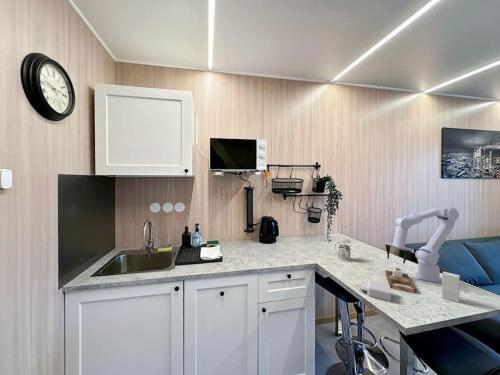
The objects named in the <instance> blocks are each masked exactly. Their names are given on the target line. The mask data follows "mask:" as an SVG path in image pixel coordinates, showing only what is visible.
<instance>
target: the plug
mask: <svg viewBox="0 0 500 375" xmlns="http://www.w3.org/2000/svg"><path fill="white" fill-rule="evenodd" d="M392 271H393V275H391V276H395V277H401V278H403V277H402V273H404V271H402V268H400V267H392Z"/></svg>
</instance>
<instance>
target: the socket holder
mask: <svg viewBox="0 0 500 375" xmlns="http://www.w3.org/2000/svg"><path fill="white" fill-rule="evenodd" d="M384 273H385V276H386V280H387V282H388V285H390V289H391V290H397V291H403V292H408V293H413V294H417V288H416V287H415V285H414V283H413V282H412V279H411V278H410V276H409V274H408V273H405V272H403V273H402V278H401V277H395V276H392V275H393V270H388V269H385V270H384Z"/></svg>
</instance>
